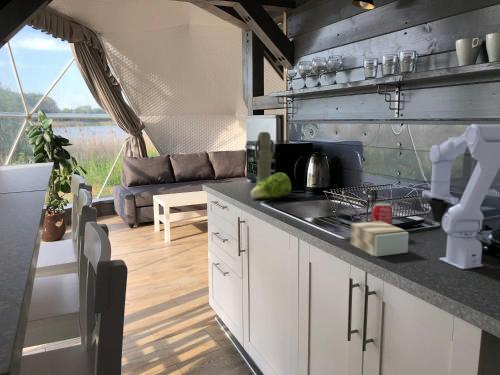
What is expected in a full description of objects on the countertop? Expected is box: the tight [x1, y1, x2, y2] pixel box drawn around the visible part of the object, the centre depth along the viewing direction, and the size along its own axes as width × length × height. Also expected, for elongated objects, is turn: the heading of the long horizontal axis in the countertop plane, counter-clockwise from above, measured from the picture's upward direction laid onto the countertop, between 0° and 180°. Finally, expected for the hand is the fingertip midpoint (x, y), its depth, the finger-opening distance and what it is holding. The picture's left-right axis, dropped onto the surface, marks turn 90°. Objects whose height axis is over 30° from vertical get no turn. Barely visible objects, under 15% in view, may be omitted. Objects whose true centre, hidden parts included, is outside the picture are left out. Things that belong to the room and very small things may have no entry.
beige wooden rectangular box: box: [349, 220, 407, 257], centre depth 147 cm, size 14×12×7 cm
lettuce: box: [250, 171, 292, 200], centre depth 237 cm, size 14×23×13 cm, turn 116°
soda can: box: [371, 202, 393, 225], centre depth 163 cm, size 7×7×12 cm
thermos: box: [254, 131, 275, 185], centre depth 254 cm, size 9×12×35 cm
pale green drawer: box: [373, 231, 409, 257], centre depth 146 cm, size 14×12×7 cm
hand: (437, 221), depth 146 cm, fingers closed
